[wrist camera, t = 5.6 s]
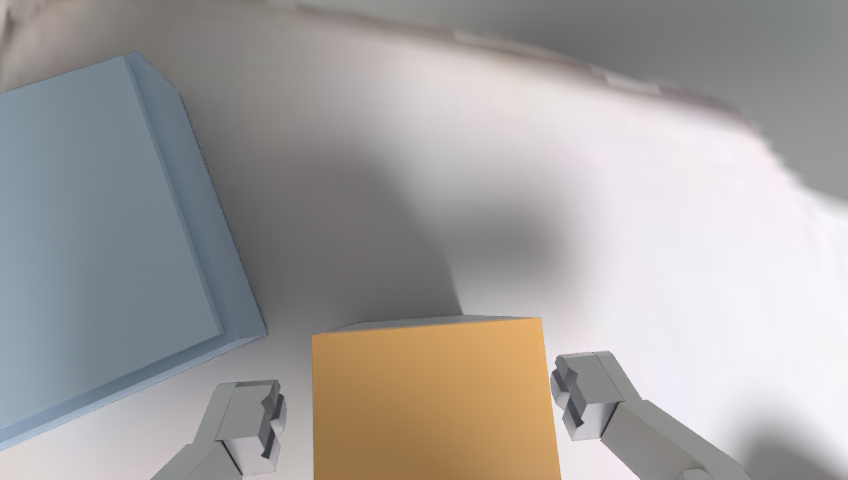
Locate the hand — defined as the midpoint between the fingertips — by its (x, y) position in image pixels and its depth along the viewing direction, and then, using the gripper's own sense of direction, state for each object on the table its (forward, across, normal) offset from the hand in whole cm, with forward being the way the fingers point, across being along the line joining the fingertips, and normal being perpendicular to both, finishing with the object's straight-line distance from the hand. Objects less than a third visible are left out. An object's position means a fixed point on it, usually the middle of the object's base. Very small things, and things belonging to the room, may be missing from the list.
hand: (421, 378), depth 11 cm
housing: (+3, 0, +4) cm, 5 cm away
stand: (+6, +16, 0) cm, 17 cm away
